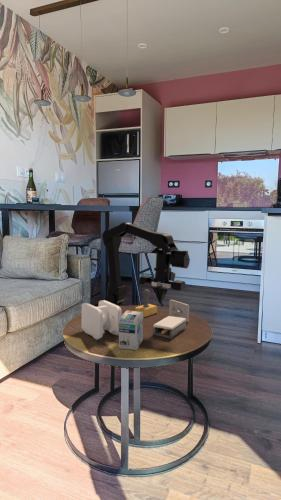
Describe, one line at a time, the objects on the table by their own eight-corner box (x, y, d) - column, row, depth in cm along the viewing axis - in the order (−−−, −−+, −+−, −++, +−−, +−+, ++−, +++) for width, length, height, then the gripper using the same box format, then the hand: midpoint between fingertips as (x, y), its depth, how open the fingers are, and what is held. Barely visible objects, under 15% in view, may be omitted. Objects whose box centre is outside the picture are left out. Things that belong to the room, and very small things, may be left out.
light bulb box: (137, 350, 113) (137, 320, 112) (117, 348, 114) (118, 318, 113) (143, 339, 124) (143, 311, 123) (125, 337, 125) (126, 309, 124)
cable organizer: (79, 330, 132) (80, 301, 131) (102, 325, 138) (103, 298, 137) (98, 342, 120) (98, 310, 119) (122, 336, 126) (123, 306, 125)
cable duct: (153, 334, 129) (153, 327, 129) (168, 324, 141) (168, 318, 141) (171, 338, 125) (172, 331, 125) (185, 328, 137) (186, 321, 137)
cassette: (189, 321, 146) (190, 304, 145) (186, 322, 145) (187, 305, 144) (171, 315, 155) (171, 299, 155) (168, 315, 154) (168, 299, 154)
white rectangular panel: (153, 326, 129) (153, 324, 129) (168, 317, 141) (168, 315, 141) (172, 329, 125) (172, 327, 125) (186, 320, 137) (186, 318, 137)
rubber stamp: (143, 317, 150) (144, 291, 149) (134, 315, 154) (134, 289, 153) (157, 313, 158) (158, 288, 157) (148, 310, 161) (148, 286, 160)
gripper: (192, 265, 135) (189, 303, 137) (151, 260, 144) (149, 295, 146) (181, 269, 125) (178, 309, 127) (138, 263, 134) (136, 300, 136)
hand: (160, 303), depth 134 cm, fingers closed
